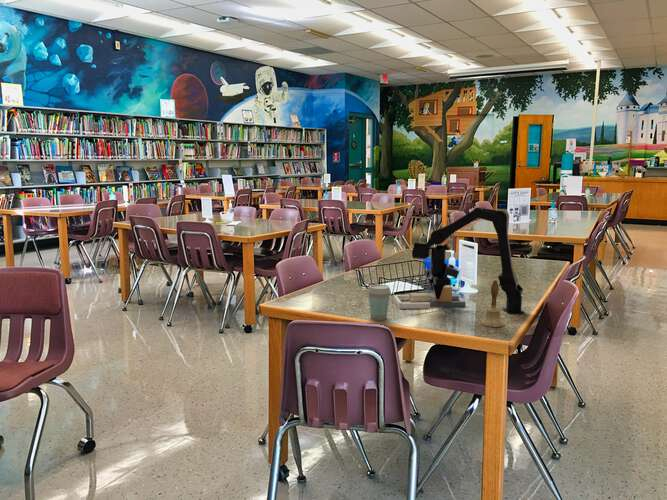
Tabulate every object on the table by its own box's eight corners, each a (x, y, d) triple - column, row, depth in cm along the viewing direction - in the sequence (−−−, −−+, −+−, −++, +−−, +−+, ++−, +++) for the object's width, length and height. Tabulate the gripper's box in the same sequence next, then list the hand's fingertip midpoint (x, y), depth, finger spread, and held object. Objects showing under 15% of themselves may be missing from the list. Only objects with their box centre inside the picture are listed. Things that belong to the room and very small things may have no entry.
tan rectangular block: (452, 305, 237) (453, 288, 235) (431, 305, 236) (431, 288, 235) (448, 301, 242) (449, 284, 241) (427, 301, 242) (428, 285, 241)
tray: (429, 308, 232) (429, 303, 231) (399, 308, 231) (399, 303, 230) (421, 299, 246) (421, 294, 245) (393, 299, 245) (393, 294, 244)
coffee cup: (388, 314, 222) (389, 284, 220) (391, 321, 213) (392, 289, 211) (366, 314, 221) (366, 284, 219) (368, 321, 213) (368, 289, 211)
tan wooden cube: (421, 305, 237) (421, 295, 236) (411, 305, 236) (411, 295, 236) (418, 302, 241) (419, 293, 240) (409, 302, 240) (409, 293, 240)
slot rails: (465, 306, 234) (465, 302, 234) (428, 307, 233) (428, 302, 233) (457, 299, 245) (457, 295, 245) (422, 300, 244) (422, 296, 244)
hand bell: (486, 319, 216) (488, 277, 214) (508, 323, 211) (510, 280, 208) (476, 324, 210) (478, 281, 207) (498, 328, 205) (501, 284, 202)
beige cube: (430, 304, 237) (431, 295, 236) (421, 305, 237) (421, 295, 236) (428, 302, 241) (428, 293, 240) (418, 302, 241) (419, 293, 240)
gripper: (464, 264, 228) (463, 303, 230) (451, 256, 246) (450, 292, 248) (436, 264, 227) (435, 303, 229) (425, 256, 245) (424, 292, 248)
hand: (437, 297), depth 239 cm, fingers closed on tan rectangular block, 3 cm apart
